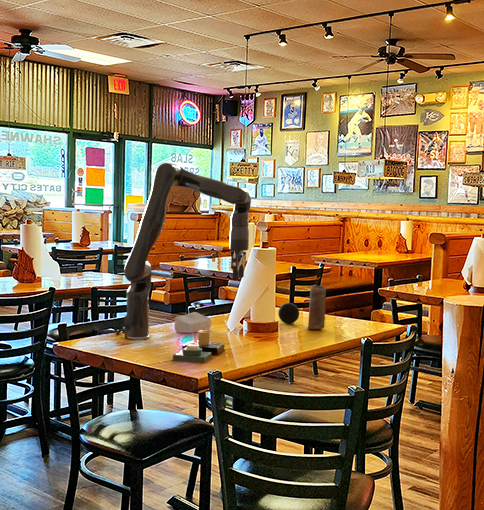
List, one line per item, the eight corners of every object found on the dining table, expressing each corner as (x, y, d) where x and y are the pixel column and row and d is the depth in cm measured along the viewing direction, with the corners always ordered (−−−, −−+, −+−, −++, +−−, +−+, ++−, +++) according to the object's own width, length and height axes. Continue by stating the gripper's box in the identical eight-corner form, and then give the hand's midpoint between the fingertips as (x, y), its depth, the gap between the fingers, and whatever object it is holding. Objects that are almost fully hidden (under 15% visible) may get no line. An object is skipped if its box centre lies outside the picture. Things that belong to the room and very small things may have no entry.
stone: (212, 330, 317) (212, 312, 313) (185, 346, 306) (185, 327, 301) (195, 321, 324) (195, 303, 319) (168, 337, 312) (168, 318, 307)
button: (185, 350, 254) (185, 345, 254) (189, 348, 258) (189, 343, 258) (196, 351, 253) (196, 346, 253) (199, 349, 257) (199, 344, 257)
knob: (196, 344, 268) (196, 331, 267) (199, 342, 272) (200, 329, 272) (207, 345, 267) (207, 331, 266) (210, 343, 271) (211, 329, 270)
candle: (323, 328, 325) (325, 285, 323) (325, 331, 317) (327, 287, 316) (307, 327, 325) (308, 285, 323) (308, 330, 318) (310, 287, 316)
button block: (172, 360, 253) (172, 350, 253) (180, 355, 262) (180, 345, 262) (204, 363, 250) (204, 352, 250) (211, 358, 259) (211, 347, 259)
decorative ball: (303, 323, 335) (303, 303, 335) (289, 326, 329) (289, 305, 328) (287, 321, 343) (288, 300, 342) (273, 323, 336) (274, 302, 335)
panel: (182, 353, 267) (182, 344, 266) (190, 347, 276) (190, 340, 276) (217, 355, 263) (217, 347, 263) (224, 350, 273) (224, 342, 272)
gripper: (234, 236, 286) (233, 276, 287) (225, 238, 272) (224, 279, 273) (252, 237, 284) (251, 277, 285) (244, 239, 270) (242, 281, 271)
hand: (238, 278), depth 279 cm, fingers open, 8 cm apart
